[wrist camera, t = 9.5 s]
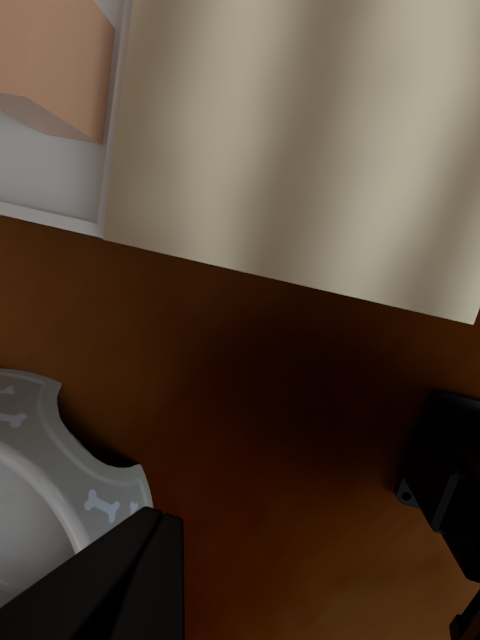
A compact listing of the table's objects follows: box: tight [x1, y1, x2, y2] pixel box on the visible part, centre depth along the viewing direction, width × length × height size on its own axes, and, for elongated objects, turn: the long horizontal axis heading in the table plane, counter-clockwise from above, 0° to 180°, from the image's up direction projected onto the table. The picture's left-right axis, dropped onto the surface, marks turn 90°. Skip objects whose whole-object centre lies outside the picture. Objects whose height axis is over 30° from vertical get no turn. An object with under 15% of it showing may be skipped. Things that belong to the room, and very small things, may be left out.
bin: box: [0, 0, 133, 238], centre depth 16 cm, size 9×14×2 cm
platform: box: [102, 0, 480, 325], centre depth 14 cm, size 16×14×3 cm
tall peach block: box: [0, 0, 115, 145], centre depth 14 cm, size 5×5×3 cm
